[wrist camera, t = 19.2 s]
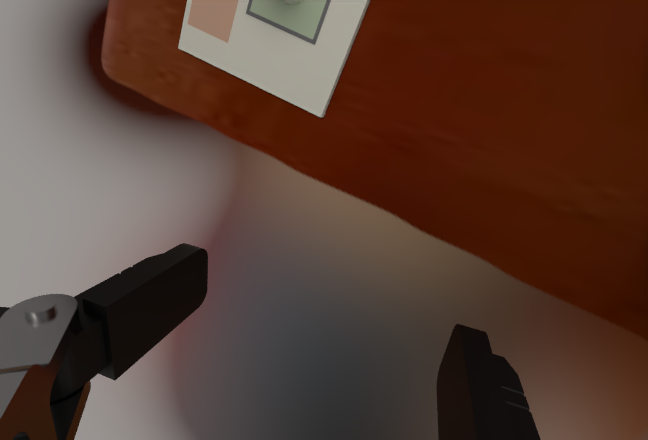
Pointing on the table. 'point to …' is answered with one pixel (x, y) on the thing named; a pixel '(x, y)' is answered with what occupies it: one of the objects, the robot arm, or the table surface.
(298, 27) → the picture board
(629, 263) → the table surface
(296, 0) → the marker
